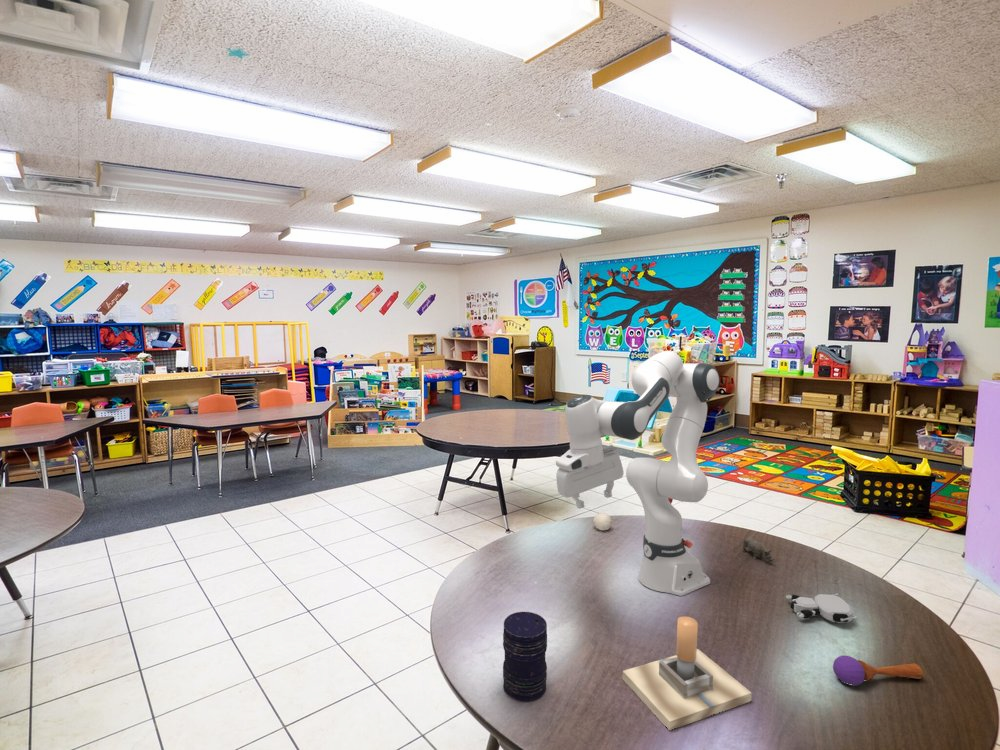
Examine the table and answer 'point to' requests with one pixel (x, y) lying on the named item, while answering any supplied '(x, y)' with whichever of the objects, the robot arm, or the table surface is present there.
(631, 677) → the plywood panel
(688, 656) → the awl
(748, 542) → the rhino figurine
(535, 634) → the dark blue cylinder
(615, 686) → the table surface
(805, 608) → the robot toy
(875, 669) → the purple maraca
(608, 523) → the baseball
